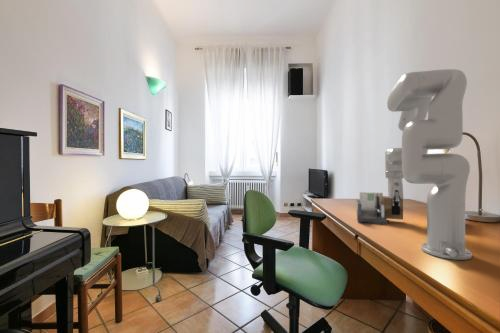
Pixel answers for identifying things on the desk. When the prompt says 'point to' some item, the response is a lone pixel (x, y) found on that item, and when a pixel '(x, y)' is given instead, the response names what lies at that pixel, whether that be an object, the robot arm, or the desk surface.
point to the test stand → (369, 208)
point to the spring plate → (380, 210)
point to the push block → (388, 208)
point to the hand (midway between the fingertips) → (394, 213)
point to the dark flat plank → (377, 205)
